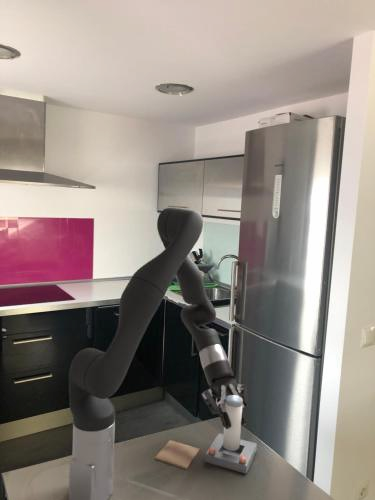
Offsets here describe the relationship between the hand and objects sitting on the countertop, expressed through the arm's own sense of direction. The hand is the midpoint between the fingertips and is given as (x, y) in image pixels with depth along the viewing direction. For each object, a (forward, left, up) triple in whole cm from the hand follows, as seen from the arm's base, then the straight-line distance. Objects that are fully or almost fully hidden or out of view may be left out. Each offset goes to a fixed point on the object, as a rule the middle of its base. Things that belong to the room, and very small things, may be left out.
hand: (236, 425), depth 105 cm
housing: (+1, +1, -10) cm, 10 cm away
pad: (-5, +14, -10) cm, 18 cm away
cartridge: (+1, +2, -6) cm, 7 cm away
